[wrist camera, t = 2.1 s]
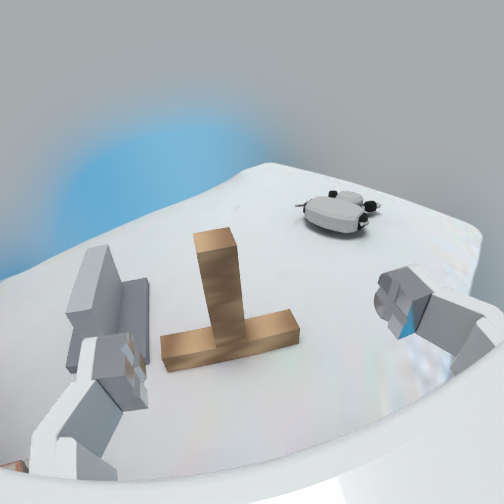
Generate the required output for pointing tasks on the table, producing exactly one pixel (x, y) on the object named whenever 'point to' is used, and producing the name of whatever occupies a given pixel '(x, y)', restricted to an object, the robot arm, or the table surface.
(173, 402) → the table surface
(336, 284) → the table surface
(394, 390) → the table surface
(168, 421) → the table surface
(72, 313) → the ridge stand
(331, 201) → the robot toy
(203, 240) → the wooden t-shaped block
